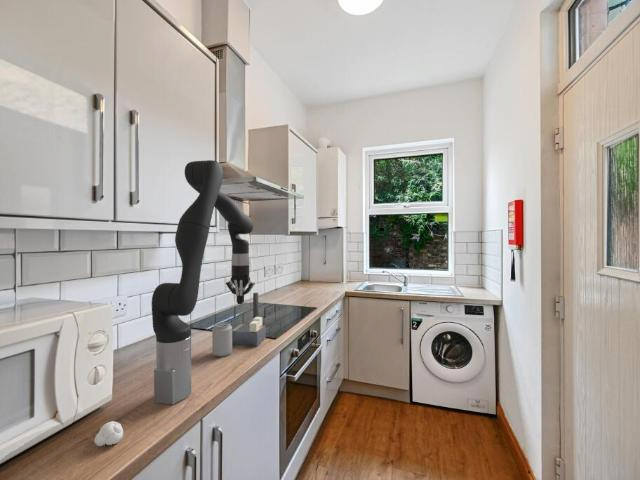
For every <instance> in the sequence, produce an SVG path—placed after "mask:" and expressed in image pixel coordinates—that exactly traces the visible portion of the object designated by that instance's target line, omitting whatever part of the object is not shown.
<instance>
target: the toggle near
mask: <svg viewBox="0 0 640 480" xmlns="http://www.w3.org/2000/svg"><path fill="white" fill-rule="evenodd" d="M249 324H250V331H251V332H257V331H258V330H259V321H253V320H252V321H251V322H249Z"/></svg>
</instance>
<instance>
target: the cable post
mask: <svg viewBox="0 0 640 480" xmlns="http://www.w3.org/2000/svg"><path fill="white" fill-rule="evenodd" d="M252 300H253V301H252V306H253V307H252V312H253V313H252V320H253V319H254V318H255V317H259V292H253V293H252Z"/></svg>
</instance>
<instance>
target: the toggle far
mask: <svg viewBox="0 0 640 480" xmlns="http://www.w3.org/2000/svg"><path fill="white" fill-rule="evenodd" d="M252 321H259V327H260V326H262V325H263V317H262V316H258V317H255V318H254V319H253V318H252Z"/></svg>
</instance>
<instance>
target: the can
mask: <svg viewBox="0 0 640 480" xmlns="http://www.w3.org/2000/svg"><path fill="white" fill-rule="evenodd" d="M211 330H212V332H211V333H212V338H211V339H212V341H211V342H212V354H213V356H215V357H218V358H223V357H227V356H229V355H230V354H231V353H232V352H233V345H232V330H233V326H232V325H231V323H230V322H227V321H222V322H216V323H215V324H214V325H213V327H212V329H211Z"/></svg>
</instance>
